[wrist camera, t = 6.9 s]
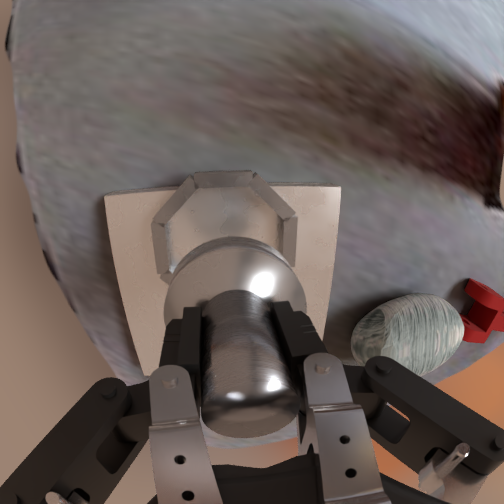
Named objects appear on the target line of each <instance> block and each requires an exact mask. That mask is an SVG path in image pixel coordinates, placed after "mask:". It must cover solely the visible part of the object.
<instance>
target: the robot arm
mask: <svg viewBox="0 0 504 504" xmlns="http://www.w3.org/2000/svg"><path fill="white" fill-rule="evenodd" d="M270 313H271V316H272V319H273V322H274V325H275V328H276V331H277V334H278V337H279V340H280V343H281V346H282V349H283V352H284V355H285V358H286V361H287V364H288V367H289V370H290V373H291V376H292V379H293V382H294V385H295V388H296V391H297V394H298V397H299V400H300V409H299V412H298V414H297V416H296V423H297V436H298V456H296V457H294V458H291V459H289V460H286V461H284V462H281V463H279V464H276V465H273V466H270V467H268V468H252V467H243V466H235V465H211V461H210V458H209V454H208V450H207V447H206V443H205V439H204V435H203V432H202V428H201V424H200V407H201V380H202V309H201V306H195V307H184V309H183V317H182V319H172V320H171V321H170V322H169V324H168V325H167V326H166V330H165V336H164V340H163V345H162V351H161V356H160V362H159V368H157V369H156V370H154V371H153V372H152V374H151V375H150V378H149V380H148V381H146V382H143V383H140V384H136V385H131V386H126V384H125V383H124V382H123V381H122V380H120V379H118V378H112V377H111V378H104V379H101V380H99V381H98V382H96V383H95V384H94V385H93V386H92V387H91V388H90V389H89V390H88V391H87V392H86V393H85V394H84V395H83V396H82V398H81V399H80V400H79V401H78V402H77V403H76V404H75V405H74V406H73V407H72V408H71V409H70V410H69V412H67V414H66V415H65V416H64V417H63V418H62V419H61V420H60V421H59V422H58V423H57V425H55V427H54V428H53V429H52V430H51V431H50V432H49V433H48V434H47V435H46V436H45V437H44V439H43V440H42V441H41V442H40V443H39V444H38V445H37V446H36V448H35V449H34V450H33V451H32V452H31V453H30V454H29V455H28V457H26V459H25V460H24V461H23V462H22V463H21V464H20V465H19V466H18V468H17V469H16V470H15V471H14V472H13V473H12V474H11V475H10V477H9V478H8V479H7V480H6V481H5V482H4V484H3V485H2V486H1V487H0V504H104V503H105V501H106V500H107V498H108V497H109V496H110V494H111V493H112V491H113V490H114V488H115V487H116V486H117V484H118V483H119V481H120V480H121V478H122V477H123V475H124V474H125V473H126V471H127V470H128V468H129V467H130V465H131V464H132V462H133V461H134V460H135V458H136V457H137V455H138V454H139V452H140V451H141V449H142V448H143V446H144V445H145V443H146V442H147V440H148V439H149V440H150V450H151V458H152V466H153V473H154V480H155V486H156V493H157V494H156V495H155V496H154V497H153V498H152V499H151V500H150V501H149V502H148V503H147V504H471V502H472V501H473V499H474V498H475V496H476V495H477V493H478V491H479V490H480V488H481V486H482V485H483V483H484V481H485V479H486V478H487V476H488V475H489V474H490V473H492V472H493V471H494V470H495V469H496V468H497V467H498V466H499V465H501V464H502V463H503V462H504V430H503V429H502V428H500V427H498V426H497V425H495V424H494V423H492V422H490V421H489V420H487V419H486V418H484V417H483V416H481V415H479V414H478V413H476V412H475V411H473V410H471V409H470V408H468V407H467V406H465V405H463V404H462V403H460V402H459V401H457V400H456V399H454V398H452V397H451V396H449V395H448V394H446V393H445V392H443V391H442V390H440V389H438V388H437V387H435V386H434V385H432V384H431V383H429V382H428V381H426V380H424V379H423V378H421V377H420V376H418V375H417V374H415V373H414V372H412V371H410V370H409V369H407V368H406V367H404V366H403V365H401V364H400V363H398V362H397V361H395V360H394V359H392V358H389V357H386V356H374V357H372V358H370V359H369V360H367V362H366V364H365V366H348V365H343V364H342V362H341V361H340V360H339V359H338V358H337V357H336V356H334V355H332V354H328V352H327V350H326V348H325V346H324V344H323V342H322V340H321V338H320V336H319V335H318V333H317V332H316V329H315V327H314V326H313V323H312V321H311V319H310V317H309V316H308V315H306V314H305V313H304V312H302V311H293V309H292V307H291V305H290V302H289V301H276V302H271V305H270ZM387 402H388V403H389V404H391V405H392V406H393V407H395V408H396V409H397V410H399V411H401V412H402V413H403V414H404V415H406V416H407V417H408V418H409V420H410V421H408V420H407V419H406V418H404V417H403V416H401V415H400V414H399V413H397V412H396V411H395V410H393V409H392V408H390V407H389V406H388V405H386V404H387ZM371 438H372V439H373V440H375V441H376V442H377V443H378V444H380V445H381V446H382V447H383V448H385V449H386V450H387V451H388V452H390V453H391V454H392V455H394V456H395V457H396V458H397V459H399V460H400V461H401V462H403V463H404V464H406V465H407V466H408V467H409V468H411V469H412V470H413V471H415V472H416V473H417V474H419V489H420V490H422V491H426V492H427V494H425V493H423V492H420V491H418V490H416V489H414V488H411V487H409V486H407V485H405V484H403V483H400V482H398V481H396V480H394V479H392V478H390V477H388V476H386V475H384V474H382V473H380V472H379V469H378V465H377V461H376V457H375V453H374V449H373V445H372V441H371Z"/></svg>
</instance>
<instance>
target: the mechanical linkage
mask: <svg viewBox="0 0 504 504" xmlns="http://www.w3.org/2000/svg"><path fill="white" fill-rule="evenodd" d="M464 291H465V292H466V293H467V294H468V295H470V296H471V297H472V298H474V299H475V302H474V304H473V306H472V308H471V309H470V311H469V313H468V315H462V314H459V315H460V317H461V319H462V322H463V325H464V335H463V338H462V340H464V341H466V342H474V343H485V341H486V339H487V338H488V336H489V335H490V333H491V331H492V330H496V331H502V332H504V311H503V310H504V298H503V297H502V296H500V295H499V294H498V293H496V292H495V291H494V290H492V289H491V288H489V287H488V286H486V285H484V284H482V283H480V282H477V281H475V280H473V279H471V278H470V279H469V282H468V284H467V286H466V287H465V289H464Z"/></svg>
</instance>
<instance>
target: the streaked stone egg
mask: <svg viewBox="0 0 504 504" xmlns="http://www.w3.org/2000/svg"><path fill="white" fill-rule="evenodd" d="M463 335H464V325H463V322H462V319H461V317H460V315H459V314H458V312H457V311H456V310H455V308H454V307H453V306H452V305H451V304H449V303H448V302H447V301H445V300H444V299H442V298H440V297H438V296H435V295H432V294H425V293H414V294H409V295H406V296H402V297H399V298H396V299H393V300H390V301H388V302H386V303H384V304H382V305H380V306H378V307H377V308H375V309H374V310H372V311H371V312H369V313H368V314H367V315H366V316H364V317H363V318H362V319H361V320H360V321H359V322H358V323H357V325H356V327H355V328H354V330H353V332H352V336H351V351H352V354H353V357H354V359H355V361H356V362H357V363H358V365H359V366H365V364H366V362H367V360H369V359H370V358H372V357H374V356H386V357H389V358H392V359H394V360H395V361H397V362H398V363H400V364H401V365H403V366H404V367H406V368H407V369H409V370H410V371H412V372H414V373H415V374H417V375H418V376H422V375H424V374H427V373H429V372H431V371H433V370H434V369H436V368H438V367H439V366H440V365H442V364H443V363H444V362H446V361H447V360H448V359H449V358H450V357H451V356H452V355H453V354H454V352H455V351H456V349H457V348H458V346H459V345H460V343H461V341H462V338H463Z"/></svg>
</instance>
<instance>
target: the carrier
mask: <svg viewBox="0 0 504 504" xmlns="http://www.w3.org/2000/svg"><path fill="white" fill-rule="evenodd" d="M340 196H341V187H339V186H337V185H335V184H332V183H298V182H267V183H266V182H265V181H264V180H263V179H262V178H261V177H260V176H259V175H258V174H257V173H256V172H255V173H254V174H253V172H252V171H251V170H239V171H209V172H195V173H194V177H193V176H191V175H190V176H189V177H188V178H187V179H186V180H185V181H184V182H183V183H182V184H181V185H180V186H168V187H155V188H143V189H132V190H122V191H113V192H111V193H109V194H107V195H106V196H104V200H105V208H106V216H107V223H108V230H109V236H110V242H111V248H112V254H113V259H114V264H115V269H116V274H117V279H118V284H119V288H120V292H121V297H122V301H123V305H124V309H125V313H126V317H127V321H128V324H129V328H130V331H131V335H132V338H133V342H134V345H135V348H136V352H137V355H138V358H139V361H140V364H141V367H142V370H143V373H144V375H147V376H150V375H151V374H152V372H153V371H154V370H156V369H157V368H159V362H160V356H161V351H162V345H163V340H164V336H165V330H166V326H165V323H164V315H163V313H164V303H165V298H166V295H167V291H168V287H169V283H170V279H171V277H172V274H173V272H174V270H175V268H176V267H177V265H178V264H179V262H180V261H181V260H182V258H183V257H185V256H186V255H187V254H188V253H189V252H190V251H191V250H193V249H194V248H196V247H197V246H199V245H201V244H203V243H205V242H208V241H210V240H213V239H217V238H221V237H230V236H240V237H247V238H252V239H256V240H259V241H261V242H264V243H266V244H268V245H269V246H271V247H273V248H274V249H276V250H277V251H278V252H279V253H280V254H281V255H282V256H283V257H284V258H285V259H286V260H287V262H288V263H289V265H290V266H291V268H292V270H293V271H294V273H295V275H296V276H297V278H298V280H299V281H300V283H301V285H302V287H303V290H304V293H305V296H306V302H307V313H306V315H308V316H309V317H310V319H311V321H312V323H313V326H314V327H315V329H316V332H317V333H318V335H319V336H320V338H321V340H323V334H324V328H325V323H326V316H327V310H328V304H329V297H330V290H331V283H332V275H333V268H334V259H335V251H336V241H337V232H338V221H339V209H340Z"/></svg>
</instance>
